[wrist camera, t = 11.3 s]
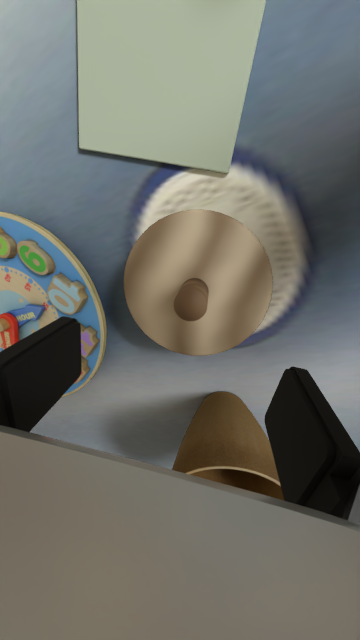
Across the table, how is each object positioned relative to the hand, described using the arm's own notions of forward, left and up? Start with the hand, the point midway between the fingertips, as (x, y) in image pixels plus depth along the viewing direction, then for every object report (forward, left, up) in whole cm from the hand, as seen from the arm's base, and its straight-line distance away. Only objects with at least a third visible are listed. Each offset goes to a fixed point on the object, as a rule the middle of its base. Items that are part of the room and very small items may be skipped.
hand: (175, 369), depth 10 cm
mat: (+8, -21, -22) cm, 32 cm away
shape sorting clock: (+27, +12, -23) cm, 38 cm away
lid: (0, +1, -17) cm, 17 cm away
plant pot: (-9, +22, -23) cm, 33 cm away
